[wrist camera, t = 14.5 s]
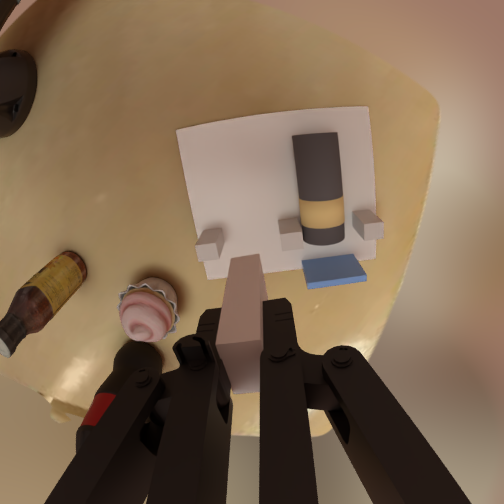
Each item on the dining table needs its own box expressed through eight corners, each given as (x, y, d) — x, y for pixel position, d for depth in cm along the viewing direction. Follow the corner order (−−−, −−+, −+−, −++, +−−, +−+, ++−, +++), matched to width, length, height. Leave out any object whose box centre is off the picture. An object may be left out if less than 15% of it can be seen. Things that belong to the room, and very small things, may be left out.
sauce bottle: (63, 242, 40) (-21, 309, 21) (92, 263, 41) (16, 343, 23) (55, 272, 42) (-17, 342, 24) (82, 292, 43) (16, 372, 25)
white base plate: (177, 129, 33) (159, 130, 27) (365, 106, 31) (387, 103, 25) (208, 277, 41) (199, 304, 34) (373, 256, 39) (391, 279, 32)
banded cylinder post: (295, 134, 33) (286, 136, 28) (338, 131, 31) (336, 133, 27) (306, 230, 37) (298, 245, 33) (346, 229, 36) (344, 245, 31)
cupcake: (188, 271, 41) (168, 312, 31) (187, 324, 44) (171, 369, 35) (127, 262, 40) (95, 298, 31) (131, 314, 44) (107, 354, 35)
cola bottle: (117, 357, 49) (54, 492, 21) (127, 328, 45) (49, 481, 18) (158, 377, 50) (111, 519, 22) (172, 350, 47) (119, 514, 19)
